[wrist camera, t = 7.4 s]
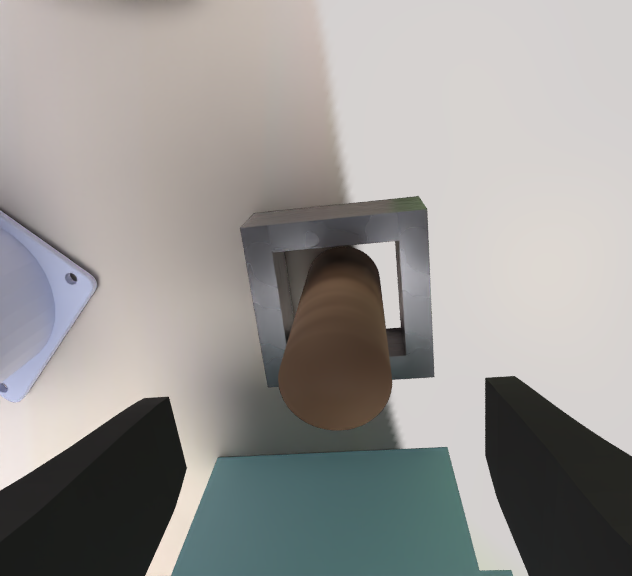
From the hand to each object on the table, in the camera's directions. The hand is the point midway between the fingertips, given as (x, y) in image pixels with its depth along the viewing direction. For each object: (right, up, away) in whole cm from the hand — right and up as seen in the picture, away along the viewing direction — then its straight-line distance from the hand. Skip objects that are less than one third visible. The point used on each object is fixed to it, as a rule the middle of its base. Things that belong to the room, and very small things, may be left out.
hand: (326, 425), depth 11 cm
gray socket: (+1, +3, +9) cm, 10 cm away
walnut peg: (+1, +3, +9) cm, 10 cm away
